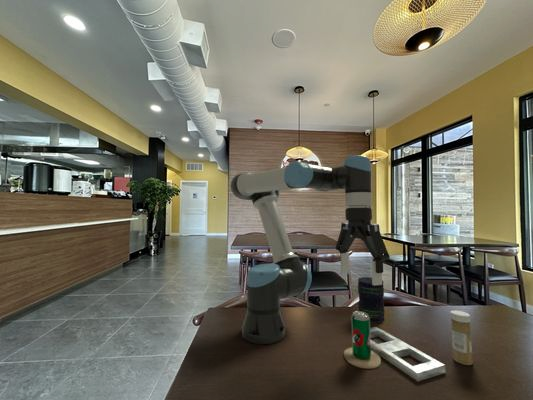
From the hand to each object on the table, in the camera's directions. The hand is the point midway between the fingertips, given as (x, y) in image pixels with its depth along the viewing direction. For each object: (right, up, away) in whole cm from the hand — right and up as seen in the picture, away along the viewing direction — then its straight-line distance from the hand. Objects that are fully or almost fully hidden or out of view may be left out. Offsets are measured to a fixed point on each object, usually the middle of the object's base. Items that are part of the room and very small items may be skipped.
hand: (359, 278), depth 74 cm
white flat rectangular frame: (+11, -23, +1) cm, 25 cm away
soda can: (0, -22, -1) cm, 22 cm away
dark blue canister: (+15, -25, +27) cm, 40 cm away
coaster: (0, -23, -2) cm, 23 cm away
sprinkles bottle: (+28, -23, -3) cm, 36 cm away
